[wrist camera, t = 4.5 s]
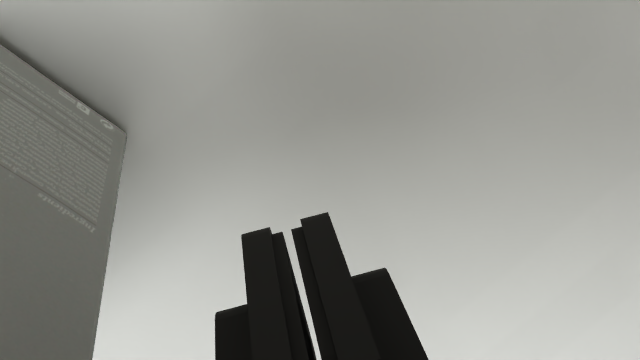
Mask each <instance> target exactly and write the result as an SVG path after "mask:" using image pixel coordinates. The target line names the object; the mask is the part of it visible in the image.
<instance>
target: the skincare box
mask: <svg viewBox="0 0 640 360" xmlns="http://www.w3.org/2000/svg"><path fill="white" fill-rule="evenodd" d="M126 139H127V134H126V133H125V132H124V131H123V130H121V129H120V128H118V127H117V126H115V125H114V124H113V123H111V122H110V121H108V120H107V119H105V118H104V117H102V116H101V115H100V114H98V113H97V112H95V111H94V110H93V109H91V108H90V107H88V106H87V105H85V104H84V103H83V102H81V101H80V100H78V99H77V98H75V97H74V96H73V95H71V94H70V93H68V92H67V91H65V90H64V89H63V88H61V87H60V86H58V85H57V84H55V83H54V82H53V81H51V80H50V79H48V78H47V77H45V76H44V75H43V74H41V73H40V72H38V71H37V70H35V69H34V68H33V67H31V66H30V65H29V64H27V63H26V62H24V61H23V60H22V59H20V58H19V57H17V56H16V55H15V54H13V53H12V52H10V51H9V50H8V49H6V48H5V47H3V46H2V45H0V360H92V357H93V351H94V344H95V337H96V331H97V324H98V318H99V311H100V305H101V298H102V292H103V285H104V279H105V272H106V266H107V259H108V253H109V246H110V239H111V232H112V226H113V221H114V215H115V208H116V202H117V196H118V189H119V182H120V176H121V170H122V162H123V157H124V152H125V145H126Z"/></svg>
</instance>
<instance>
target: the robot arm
mask: <svg viewBox="0 0 640 360" xmlns="http://www.w3.org/2000/svg"><path fill="white" fill-rule="evenodd" d="M300 220H301V224H302V227H299V228H295V229H291V231H292V235H293V239H294V244H295V248H296V252H297V256H298V261H299V265H300V269H301V273H302V278H303V282H304V286H305V290H306V295H307V299H308V303H309V307H310V312H311V316H312V320H313V325H314V329H315V333H316V337H317V342H318V346H319V350H320V354H321V359H322V360H428V358H427V355H426V353H425V351H424V349H423V347H422V345H421V342H420V340H419V338H418V336H417V334H416V331H415V329H414V327H413V325H412V323H411V321H410V318H409V316H408V314H407V312H406V310H405V308H404V305H403V303H402V301H401V299H400V297H399V294H398V292H397V290H396V288H395V286H394V284H393V281H392V279H391V277H390V275H389V273H388V271H387V269H386V268H382V269H378V270H374V271H371V272H367V273H363V274H359V275H356V276H352V277H351V275H350V272H349V269H348V267H347V264H346V261H345V258H344V255H343V253H342V250H341V247H340V244H339V242H338V239H337V236H336V233H335V230H334V228H333V225H332V222H331V219H330V216H329V214H328V212H327V213H323V214H319V215H315V216H311V217H307V218H304V219H300ZM242 249H243V260H244V271H245V282H246V294H247V304H246V305H242V306H238V307H235V308H231V309H227V310H223V311H219V312H217V313H216V315H215V360H316V356H315V351H314V347H313V343H312V339H311V336H310V332H309V328H308V324H307V321H306V317H305V313H304V310H303V306H302V302H301V299H300V295H299V291H298V287H297V284H296V280H295V276H294V273H293V269H292V265H291V261H290V258H289V254H288V250H287V247H286V243H285V239H284V236H283V232H280V233H276V234H272V233H271V230H270V227H269V228H265V229H261V230H257V231H253V232H249V233H245V234H242Z"/></svg>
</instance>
